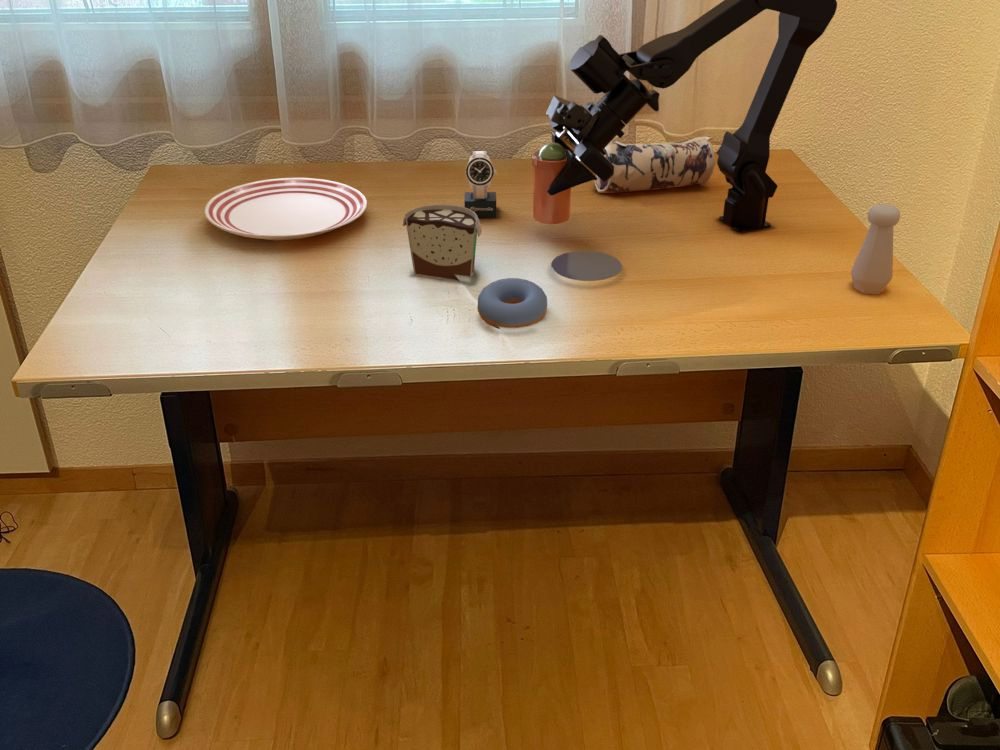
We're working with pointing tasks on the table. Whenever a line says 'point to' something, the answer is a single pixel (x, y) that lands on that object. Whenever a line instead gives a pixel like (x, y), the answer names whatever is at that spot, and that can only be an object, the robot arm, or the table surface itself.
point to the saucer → (586, 265)
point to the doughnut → (512, 303)
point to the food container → (442, 240)
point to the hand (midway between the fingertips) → (543, 186)
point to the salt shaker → (876, 251)
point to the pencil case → (658, 165)
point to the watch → (480, 185)
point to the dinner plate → (285, 208)
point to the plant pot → (544, 173)
